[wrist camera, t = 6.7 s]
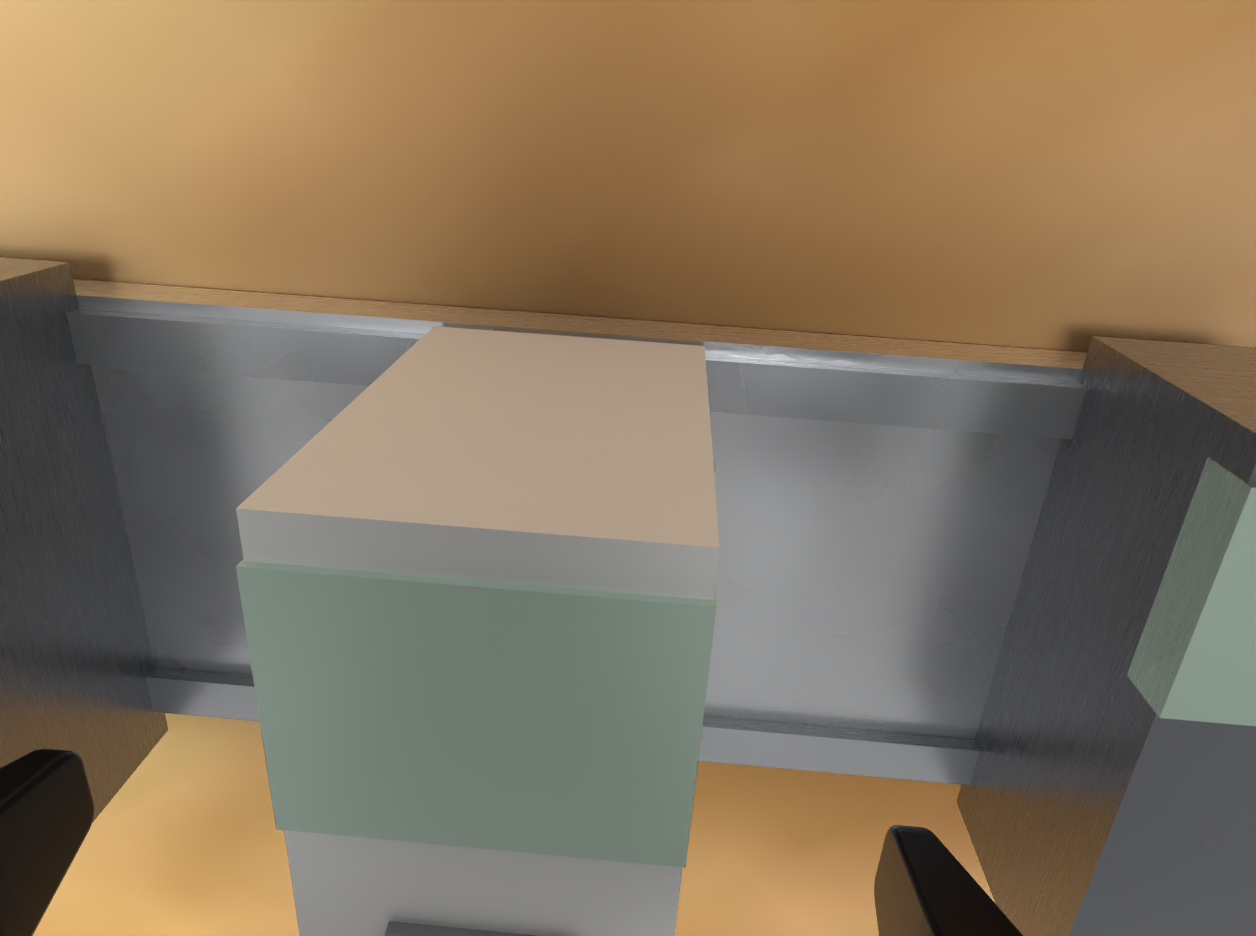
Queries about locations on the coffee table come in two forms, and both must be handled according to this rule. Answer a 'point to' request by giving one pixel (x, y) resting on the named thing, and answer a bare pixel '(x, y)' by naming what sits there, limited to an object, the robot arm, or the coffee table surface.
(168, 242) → the coffee table surface
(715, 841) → the coffee table surface
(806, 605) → the rail
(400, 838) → the module
